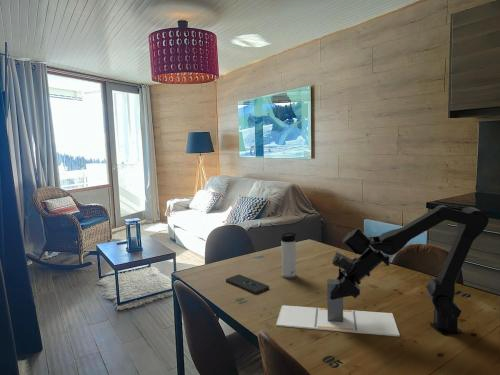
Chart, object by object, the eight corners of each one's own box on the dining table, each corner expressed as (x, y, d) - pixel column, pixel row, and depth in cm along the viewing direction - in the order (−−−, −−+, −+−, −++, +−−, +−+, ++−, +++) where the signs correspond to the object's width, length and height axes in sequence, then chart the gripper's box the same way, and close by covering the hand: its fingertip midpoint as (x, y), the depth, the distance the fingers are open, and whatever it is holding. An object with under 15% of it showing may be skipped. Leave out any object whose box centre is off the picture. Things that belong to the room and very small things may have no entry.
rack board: (392, 314, 119) (392, 313, 119) (399, 336, 106) (399, 334, 106) (282, 306, 128) (282, 305, 128) (276, 325, 115) (276, 324, 115)
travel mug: (296, 279, 154) (295, 235, 151) (281, 278, 155) (280, 234, 153) (297, 274, 160) (296, 231, 158) (283, 273, 161) (281, 231, 159)
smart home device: (255, 291, 139) (224, 278, 154) (255, 295, 139) (225, 282, 154) (270, 285, 145) (239, 273, 159) (270, 289, 145) (239, 277, 160)
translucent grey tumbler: (342, 316, 118) (342, 279, 117) (343, 322, 114) (342, 284, 113) (327, 315, 119) (327, 278, 118) (327, 321, 116) (327, 283, 114)
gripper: (346, 238, 122) (314, 267, 126) (348, 254, 104) (311, 288, 108) (369, 261, 121) (337, 289, 125) (376, 281, 103) (338, 314, 107)
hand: (330, 294), depth 116 cm, fingers open, 7 cm apart
